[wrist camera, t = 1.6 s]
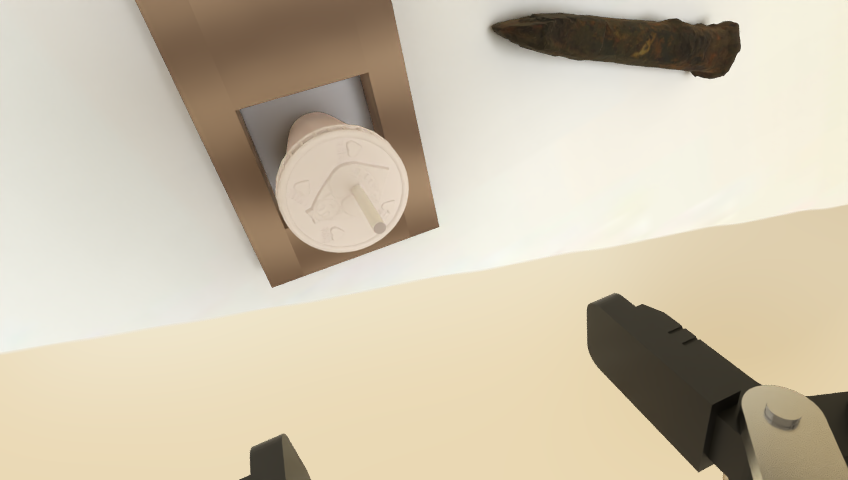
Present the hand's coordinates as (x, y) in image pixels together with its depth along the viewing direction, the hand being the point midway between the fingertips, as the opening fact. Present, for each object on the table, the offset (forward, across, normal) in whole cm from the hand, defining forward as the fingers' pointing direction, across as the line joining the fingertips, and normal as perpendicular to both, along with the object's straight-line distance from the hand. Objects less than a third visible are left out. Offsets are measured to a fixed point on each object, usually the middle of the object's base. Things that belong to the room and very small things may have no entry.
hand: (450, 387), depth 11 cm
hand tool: (+23, -22, 0) cm, 32 cm away
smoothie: (+23, 0, 0) cm, 23 cm away
